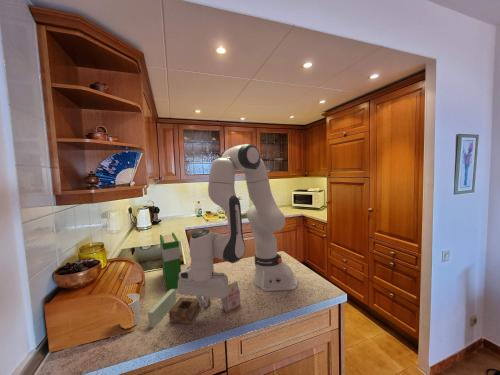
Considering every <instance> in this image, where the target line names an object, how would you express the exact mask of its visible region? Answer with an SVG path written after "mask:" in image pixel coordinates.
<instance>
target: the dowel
mask: <svg viewBox="0 0 500 375" xmlns="http://www.w3.org/2000/svg"><path fill="white" fill-rule="evenodd" d="M203 300H206V299H205V297H204V296H203ZM211 303H212V302H211V297H210V298H209V300H208V305H207V307H209V306H211Z"/></svg>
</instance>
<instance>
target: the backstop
mask: <svg viewBox="0 0 500 375" xmlns="http://www.w3.org/2000/svg"><path fill="white" fill-rule="evenodd" d="M176 296H177V295H176V289H170V290H169V291H166V294H164V295H163V296H162V298H160V299H159V301H157V302H156V304H154V306H153V307H152V308H151V309H150V310H148V312H147V315H148V316H147V317H148V327H149V328H152V327H154V328H155V327H156V326H157V325H158V324H159V322H160V321H161V320H162V319H163V318H164V317H165V315H166V314H167V313H169V311H168V310H169V309H171V308H172V307H173V306H174V305H175V302H177V298H176ZM163 316H164V317H163ZM157 323H158V324H157ZM156 324H157V325H156Z"/></svg>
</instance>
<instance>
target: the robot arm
mask: <svg viewBox="0 0 500 375" xmlns="http://www.w3.org/2000/svg"><path fill="white" fill-rule="evenodd" d="M238 171H243V174H244V176H245V183H246V188H247V193H248V197H249V199H250V201H251V202H252V204H253V205H252V206H249V208H248V209H247V212H246V219H247V220H248V223H249V224H250V228H251V231H252V235H253V239H254V251H255V252H254V253H255V254H254V266H255V269H254V270H255V273H254V277H253V284H254V285H255V286H256V287H258V288H259V289H261V290H262V291H263V292H278V291H279V292H281V291H293V290H294V291H295V290H296V289H297V288H298V285H299V282H298V277H297V275H295V274H294V273H293V270H292V268H291V266H289V265H288V264H286V263H285V262H284V261H283V258H282V255H281V253H278V247H277V246H278V245H277V242H278V241H277V238H276V236H275V234H274V232H279V231H281V230H282V229H283V228H284V226H285V224H286V216H285V214H284V213H283V212H282V211H281V210H280V208H279V207H278V204H277V202H276V201H275V199H274V197H273V194H272V188H271V185H270V179H269V176H268V175H269V174H268V172H267V171H268V170H267V167H266V165H265V163H264V161H263V159H262V158H261V153H260V151H259V149H258V147H257V146H255V145H254V144H252V143H244V144H239V145H235V146H233V147H230V148H227V149H224V150H223V151H222V152H221V154H220V155H219V157H218V158H215V159H214V160H213V161H212V163H211V166H210V170H209V176H208V177H209V178H208V187H207V193H208V197H209V199H210V200H211V201H212V202H213V204H215V205H217V206H219V207H220V208H221V209H222V210H223V211H224V212H225V213H226V216H227V228H228V229H227V230H228V234H224V233H223V234H222V233H219V232H213V231H211V230H210V229H207V228H202V229H197V230H195V231H194V232H192V233H191V235H190V239H189V257H190V265H187V266H186V267H184V268H183V269H181V272H180V273H179V280H178V288H177V292H178V294H179V295H182V296H183V295H184V296H186V295H187V296H195V297H196V298H195V299H197V300H198V301H199V306H201V307H208V306H207V305H208V300H209V298H210V299H211V298H216V299H222V298H225V297H226V296H227V295H228V292H229V290H228V285H229V277H228V275H227V274H225V273H224V272H216V271H215V270H214V266H215V265H214V259H215V258H217V259H221V260H224V261H226V262H228V263H230V264H236V263H237V262H240V260H241V259H243V258H244V256H245V253H246V244H245V240H244V235H243V232H244V230H243V221H242V218H243V217H242V208H241V202H240V199H239V198H238V197H237V194H236V192H235V191H236V190H235V185H236V184H235V182H236V180H235V179H236V178H235V176H236V173H237V172H238ZM202 297H203V298H202ZM204 297H205V299H206V300H204Z"/></svg>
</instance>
